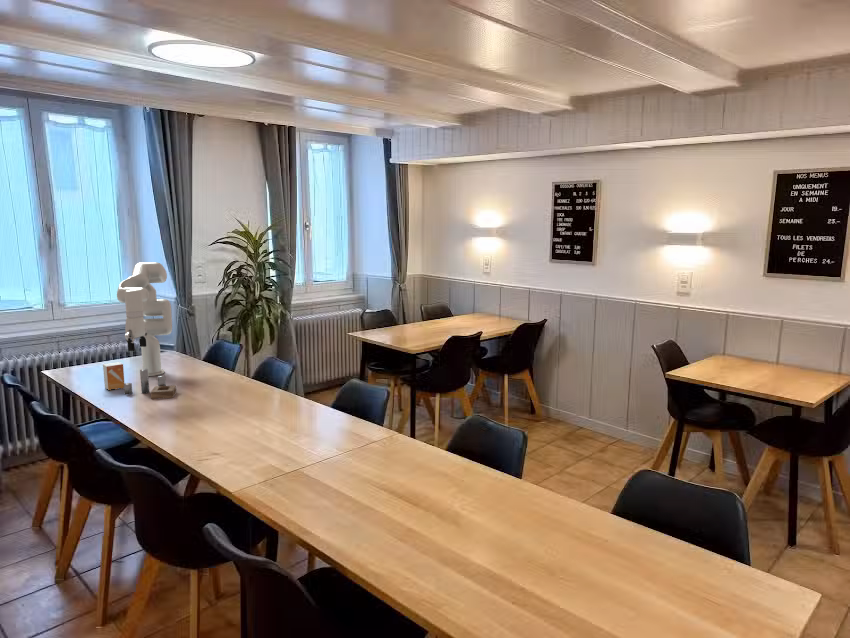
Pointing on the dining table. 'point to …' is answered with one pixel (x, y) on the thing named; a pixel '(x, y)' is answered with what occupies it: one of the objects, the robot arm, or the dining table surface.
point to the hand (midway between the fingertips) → (137, 348)
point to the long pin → (144, 380)
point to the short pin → (128, 388)
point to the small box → (113, 375)
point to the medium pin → (161, 381)
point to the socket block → (163, 392)
